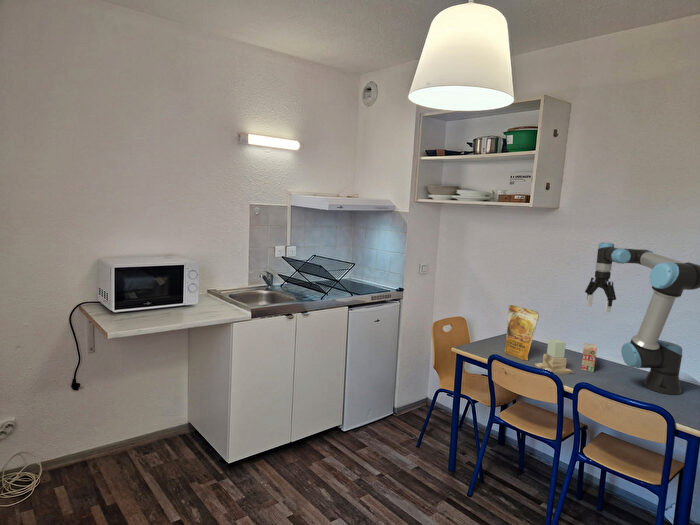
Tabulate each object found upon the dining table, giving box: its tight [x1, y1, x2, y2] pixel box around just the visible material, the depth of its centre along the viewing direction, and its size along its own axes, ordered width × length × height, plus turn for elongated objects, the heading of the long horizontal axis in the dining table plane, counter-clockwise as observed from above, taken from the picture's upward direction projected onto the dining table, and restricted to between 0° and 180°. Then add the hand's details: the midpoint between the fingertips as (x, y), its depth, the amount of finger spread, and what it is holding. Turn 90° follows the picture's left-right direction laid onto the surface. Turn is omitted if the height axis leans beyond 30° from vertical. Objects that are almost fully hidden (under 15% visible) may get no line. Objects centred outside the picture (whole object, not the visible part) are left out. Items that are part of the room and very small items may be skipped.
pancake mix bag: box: [504, 304, 540, 361], centre depth 270 cm, size 7×19×28 cm, turn 31°
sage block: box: [546, 338, 567, 358], centre depth 251 cm, size 6×6×8 cm
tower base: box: [534, 353, 574, 375], centre depth 251 cm, size 14×13×7 cm
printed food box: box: [580, 342, 598, 373], centre depth 261 cm, size 21×6×12 cm, turn 152°
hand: (598, 309), depth 263 cm, fingers open, 13 cm apart
